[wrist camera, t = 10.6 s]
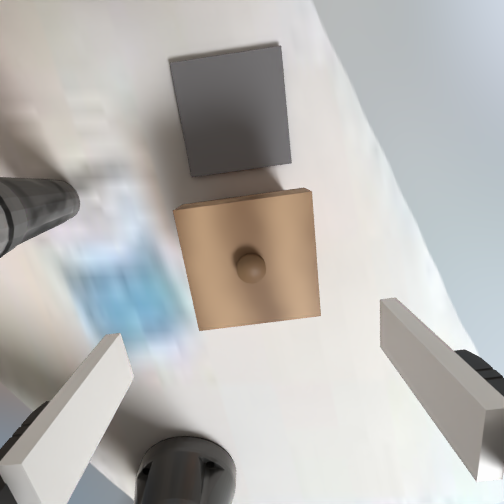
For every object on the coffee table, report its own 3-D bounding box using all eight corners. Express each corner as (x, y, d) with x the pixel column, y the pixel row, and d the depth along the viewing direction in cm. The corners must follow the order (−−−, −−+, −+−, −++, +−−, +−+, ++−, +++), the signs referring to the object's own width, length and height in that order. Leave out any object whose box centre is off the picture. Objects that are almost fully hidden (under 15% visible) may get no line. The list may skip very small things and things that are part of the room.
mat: (192, 177, 32) (191, 177, 32) (171, 64, 29) (169, 62, 28) (290, 163, 32) (291, 163, 31) (280, 47, 28) (281, 45, 28)
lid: (205, 311, 29) (197, 336, 25) (182, 204, 26) (170, 212, 22) (312, 298, 29) (323, 320, 25) (303, 187, 26) (314, 192, 22)
